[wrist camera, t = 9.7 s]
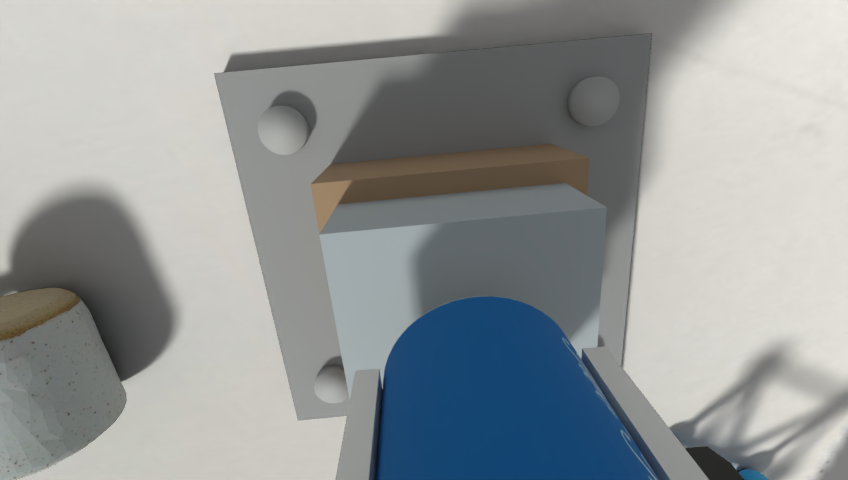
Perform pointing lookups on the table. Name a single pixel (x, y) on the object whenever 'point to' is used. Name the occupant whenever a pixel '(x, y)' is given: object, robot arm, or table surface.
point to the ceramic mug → (51, 381)
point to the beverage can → (497, 402)
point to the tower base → (419, 128)
